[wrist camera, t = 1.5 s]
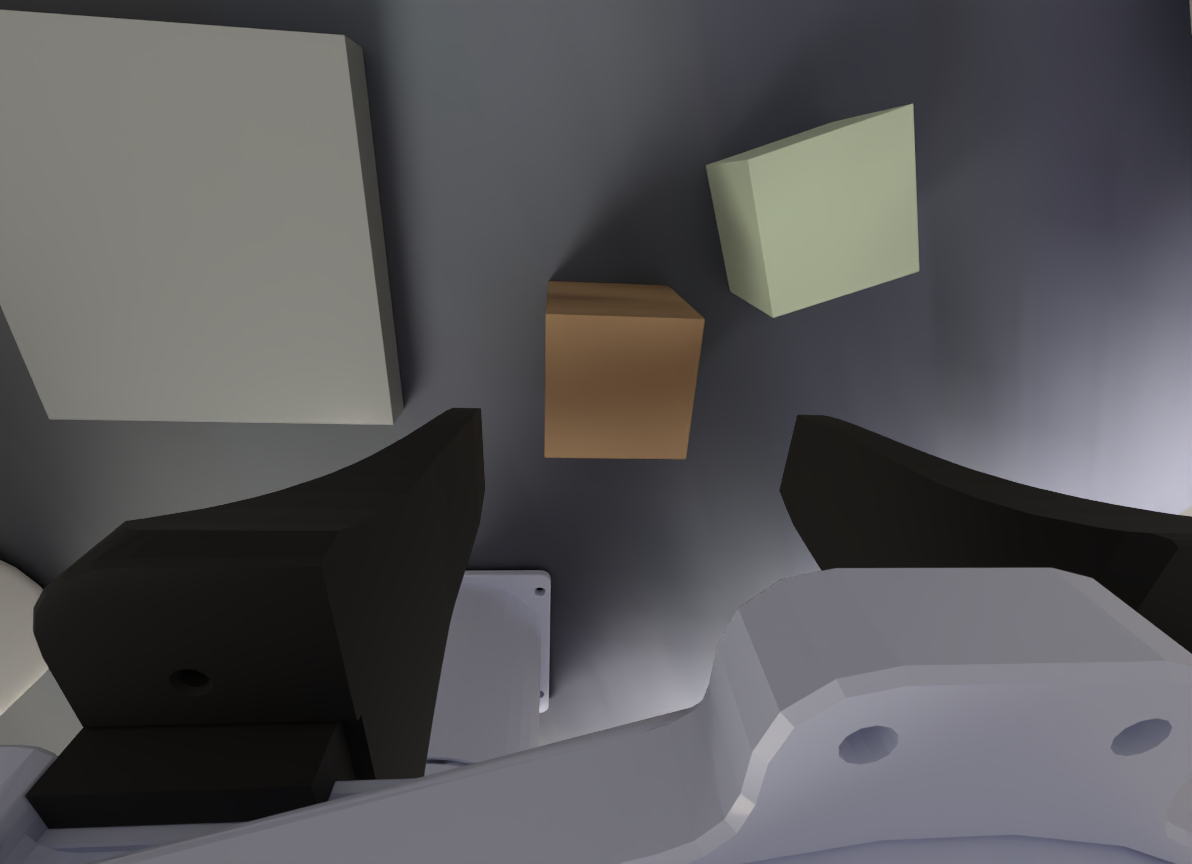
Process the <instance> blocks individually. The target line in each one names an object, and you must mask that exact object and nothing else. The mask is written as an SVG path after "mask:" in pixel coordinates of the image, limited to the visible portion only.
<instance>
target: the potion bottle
mask: <svg viewBox="0 0 1192 864" xmlns="http://www.w3.org/2000/svg"><path fill="white" fill-rule="evenodd" d="M42 591H43V589H42V588H41V587H40V585H38V584H37V583H36V582H34V581H33V580H32V579H30V578H29V577H28V576H26V575H25V574H24V573H22V572H21V571H20V570H19V569H17V568H16V567H14V566H12V565H10V564H8V563H6V562H3V561H1V560H0V715H1V714H2V713H3V712H5V711H6V710H7V709H8V708H9V707H10V706H11V705H12V704H13V703H14V702H15V701H16V700H17V699H18V698H19V697H20V696H21V695H22V694H23V693H24V692H25V691H26V690H28V689H29V688H30V687H31V686H32V685H33V684H34V683H35V682H36V681H37V680H38V679H39V678H40V677H41V676H42V675H43V674H44V673H45V672H46V671H47V669H48V666H47V664H46V662H45V661H44V659H43V657H42V655H41V652H40V649H39V647H38V644H37V642H36V639H35V636H34V633H33V608H34V606H35V604H36V602H37V600H38V598H39V596H40V595H41V593H42Z"/></svg>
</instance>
